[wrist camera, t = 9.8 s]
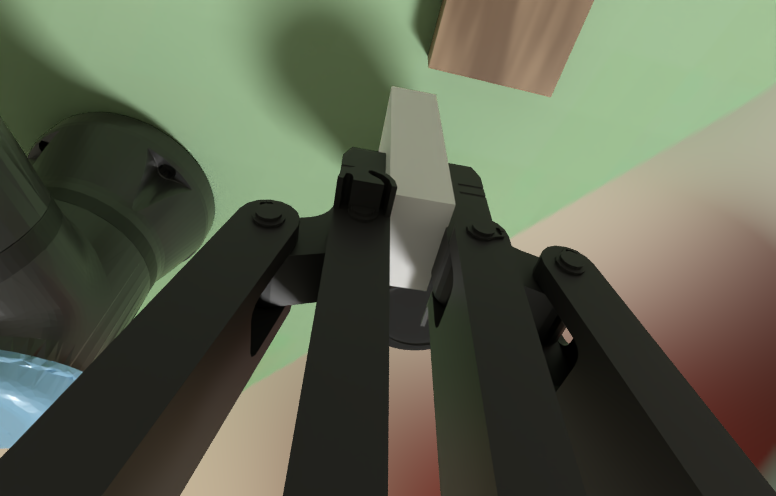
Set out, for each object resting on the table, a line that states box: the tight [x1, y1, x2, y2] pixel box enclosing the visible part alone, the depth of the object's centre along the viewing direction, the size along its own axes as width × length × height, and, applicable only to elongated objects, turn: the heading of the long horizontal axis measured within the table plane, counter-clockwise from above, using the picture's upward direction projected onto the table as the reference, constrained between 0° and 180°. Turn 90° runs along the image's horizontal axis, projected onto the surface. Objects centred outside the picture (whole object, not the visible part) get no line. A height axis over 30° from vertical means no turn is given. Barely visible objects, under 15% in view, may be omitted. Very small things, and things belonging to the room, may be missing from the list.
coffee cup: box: [389, 276, 433, 350], centre depth 36 cm, size 9×9×15 cm
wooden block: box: [428, 0, 594, 97], centre depth 32 cm, size 3×10×9 cm
